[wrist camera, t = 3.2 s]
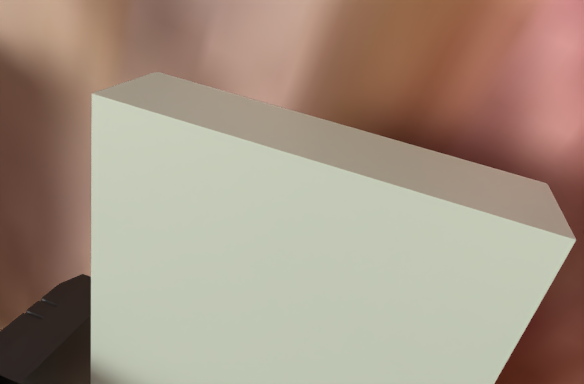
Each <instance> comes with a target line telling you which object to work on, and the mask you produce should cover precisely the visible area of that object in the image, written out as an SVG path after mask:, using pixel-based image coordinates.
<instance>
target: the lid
mask: <svg viewBox="0 0 584 384" xmlns="http://www.w3.org/2000/svg"><path fill="white" fill-rule="evenodd" d="M575 242H576V238H575V236H574V234H573V232H572V230H571V229H570V227H569V225H568V223H567V221H566V219H565V217H564V215H563V213H562V211H561V209H560V207H559V205H558V203H557V201H556V199H555V197H554V195H553V193H552V191H551V189H550V188H549V186H548V184H547V183H544V182H541V181H537V180H534V179H530V178H527V177H523V176H520V175H516V174H513V173H509V172H506V171H502V170H499V169H495V168H492V167H488V166H485V165H481V164H478V163H474V162H471V161H467V160H464V159H460V158H457V157H453V156H450V155H446V154H443V153H439V152H436V151H432V150H429V149H425V148H422V147H418V146H415V145H411V144H408V143H405V142H401V141H398V140H394V139H391V138H387V137H384V136H380V135H377V134H373V133H370V132H366V131H363V130H359V129H356V128H352V127H349V126H345V125H342V124H338V123H335V122H331V121H328V120H324V119H321V118H317V117H314V116H310V115H307V114H303V113H300V112H296V111H293V110H289V109H286V108H282V107H279V106H275V105H272V104H268V103H265V102H261V101H258V100H254V99H251V98H247V97H244V96H240V95H237V94H233V93H230V92H226V91H223V90H219V89H216V88H213V87H209V86H206V85H202V84H199V83H195V82H192V81H188V80H185V79H181V78H178V77H174V76H171V75H167V74H164V73H160V72H154V73H151V74H148V75H145V76H142V77H139V78H136V79H133V80H130V81H127V82H124V83H121V84H118V85H115V86H112V87H109V88H106V89H103V90H100V91H97V92H94V93H92V119H91V384H494V383H495V381H496V380H497V378H498V376H499V374H500V373H501V371H502V369H503V368H504V366H505V364H506V362H507V361H508V359H509V357H510V355H511V354H512V352H513V350H514V348H515V347H516V345H517V343H518V341H519V340H520V338H521V336H522V334H523V333H524V331H525V329H526V327H527V326H528V324H529V322H530V320H531V319H532V317H533V315H534V313H535V312H536V310H537V308H538V306H539V305H540V303H541V301H542V299H543V298H544V296H545V294H546V292H547V291H548V289H549V287H550V285H551V284H552V282H553V280H554V278H555V277H556V275H557V273H558V271H559V270H560V268H561V266H562V264H563V263H564V261H565V259H566V257H567V256H568V254H569V252H570V250H571V249H572V247H573V245H574V243H575Z"/></svg>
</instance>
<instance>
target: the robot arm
mask: <svg viewBox="0 0 584 384" xmlns="http://www.w3.org/2000/svg"><path fill="white" fill-rule="evenodd" d="M0 384H91V277H89V276H87V275H84V274H82V275H79V276H77V277H75V278H72V279H70V280H67V281H65V282H62V283H60V284H59V285H57V286H56V287H55V288H54V289H53V290H51V291H50V292H49V293H48V294H46V295H45V296H44V297H43V298H42V300H41V301H38V302H36V303H35V304H34V305H33V306H31V307H30V308H29V309H28V310H27V312H26V313H25V314H24V313H23V314H22V315H20V316H19V317H18V318H17V319H15V320H14V321H13V322H12V323H10V324H9V325H8V326H7V327H5V328H4V329H3V330H2V331H0Z"/></svg>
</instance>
